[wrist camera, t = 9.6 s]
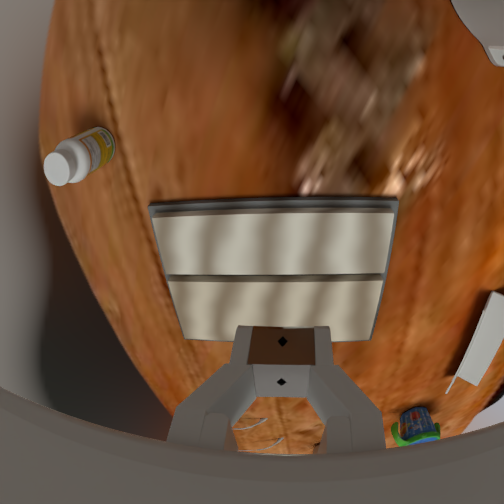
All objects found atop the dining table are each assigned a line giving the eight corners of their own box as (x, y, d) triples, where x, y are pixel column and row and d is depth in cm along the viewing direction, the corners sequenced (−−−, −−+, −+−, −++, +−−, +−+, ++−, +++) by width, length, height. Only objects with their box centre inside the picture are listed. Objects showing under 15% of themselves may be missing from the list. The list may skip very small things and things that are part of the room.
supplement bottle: (81, 159, 37) (38, 185, 29) (86, 122, 34) (40, 141, 26) (112, 169, 38) (72, 198, 30) (119, 131, 35) (76, 152, 27)
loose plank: (380, 274, 41) (383, 280, 40) (367, 333, 48) (369, 339, 46) (170, 275, 45) (167, 281, 44) (187, 332, 51) (185, 338, 50)
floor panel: (396, 197, 36) (402, 205, 34) (370, 336, 49) (372, 346, 47) (150, 203, 40) (143, 211, 38) (185, 335, 53) (182, 345, 51)
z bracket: (498, 273, 45) (523, 284, 41) (465, 357, 58) (485, 367, 53) (483, 310, 39) (513, 323, 35) (445, 393, 52) (467, 405, 48)
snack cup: (445, 405, 62) (453, 437, 54) (418, 424, 68) (424, 454, 59) (407, 398, 60) (414, 435, 52) (379, 419, 66) (383, 453, 57)
